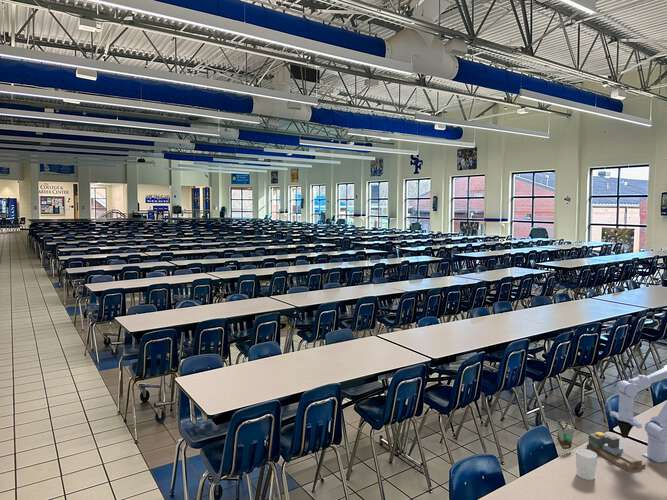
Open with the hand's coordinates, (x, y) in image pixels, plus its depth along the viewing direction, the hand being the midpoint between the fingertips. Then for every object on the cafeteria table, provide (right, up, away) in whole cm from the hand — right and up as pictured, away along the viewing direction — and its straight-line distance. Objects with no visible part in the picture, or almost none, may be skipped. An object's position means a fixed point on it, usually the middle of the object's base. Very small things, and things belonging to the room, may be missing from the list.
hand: (624, 437), depth 217 cm
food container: (-20, -9, +13) cm, 26 cm away
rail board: (-4, -10, +2) cm, 11 cm away
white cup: (-26, -11, -15) cm, 31 cm away
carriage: (-4, -8, +2) cm, 9 cm away
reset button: (-6, -7, +10) cm, 13 cm away
